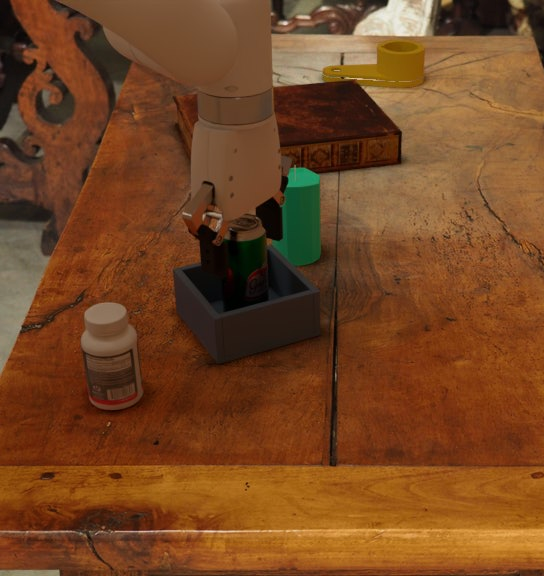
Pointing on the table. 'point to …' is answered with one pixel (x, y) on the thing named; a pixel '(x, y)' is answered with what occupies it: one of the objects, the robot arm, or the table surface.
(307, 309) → the bin
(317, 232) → the candle
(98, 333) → the pill bottle
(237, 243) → the soda can
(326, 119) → the book
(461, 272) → the table surface
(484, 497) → the table surface
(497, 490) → the table surface
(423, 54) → the crank
